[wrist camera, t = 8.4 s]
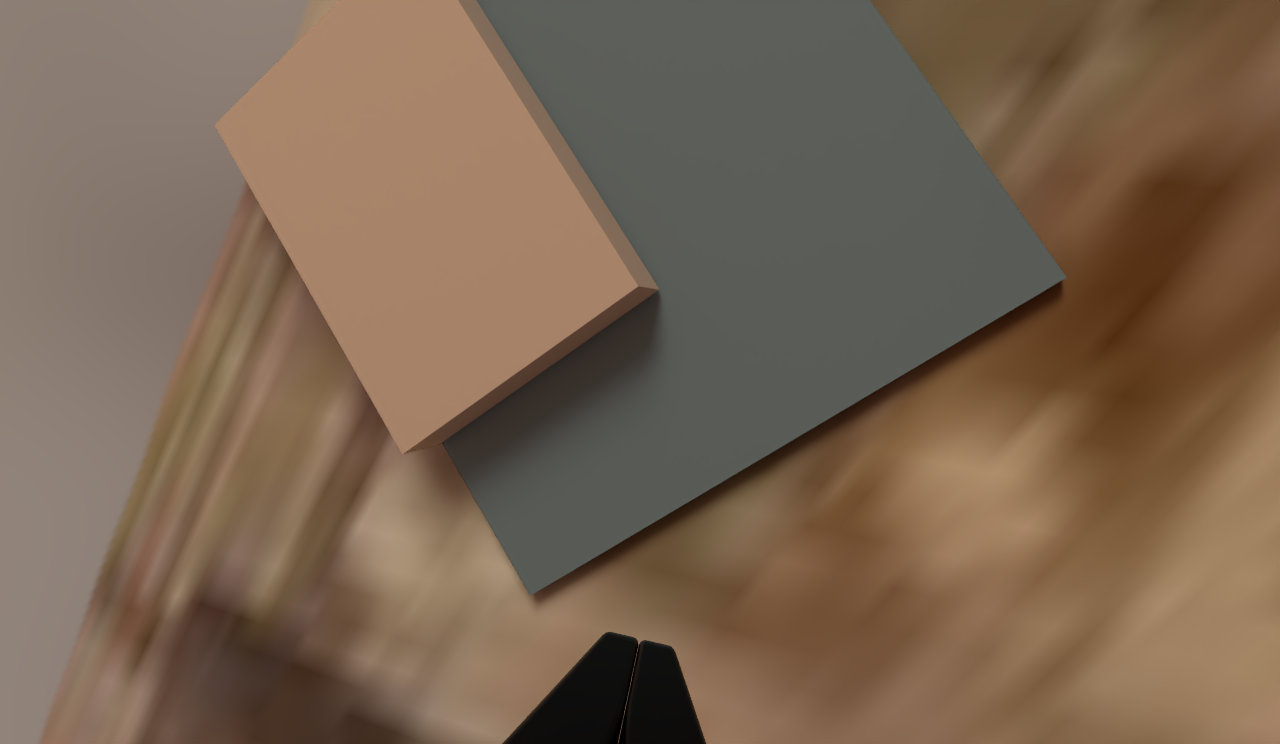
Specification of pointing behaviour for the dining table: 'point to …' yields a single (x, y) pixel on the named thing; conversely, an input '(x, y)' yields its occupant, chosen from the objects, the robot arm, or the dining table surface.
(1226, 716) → the dining table surface
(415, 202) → the tile
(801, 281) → the mat
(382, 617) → the dining table surface
